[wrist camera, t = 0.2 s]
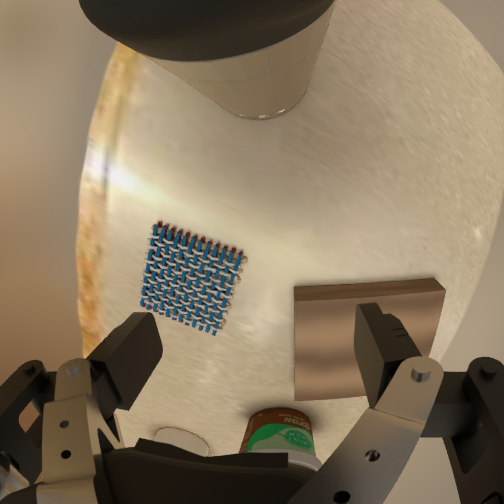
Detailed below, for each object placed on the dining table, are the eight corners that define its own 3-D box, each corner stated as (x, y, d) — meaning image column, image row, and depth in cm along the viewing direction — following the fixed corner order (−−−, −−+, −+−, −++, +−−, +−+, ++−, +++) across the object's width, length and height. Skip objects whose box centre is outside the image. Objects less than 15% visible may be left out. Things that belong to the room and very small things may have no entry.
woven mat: (141, 300, 32) (134, 308, 30) (156, 217, 29) (148, 222, 27) (222, 332, 32) (218, 342, 30) (251, 251, 29) (248, 258, 27)
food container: (334, 411, 35) (340, 468, 25) (315, 433, 37) (317, 486, 27) (252, 392, 35) (242, 453, 25) (239, 416, 37) (228, 472, 27)
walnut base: (293, 286, 29) (294, 301, 26) (434, 278, 27) (446, 290, 24) (294, 384, 33) (294, 400, 31) (411, 372, 31) (417, 387, 28)
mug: (156, 418, 40) (140, 454, 32) (216, 439, 40) (206, 477, 32) (153, 449, 44) (141, 479, 37) (203, 466, 44) (194, 497, 37)
